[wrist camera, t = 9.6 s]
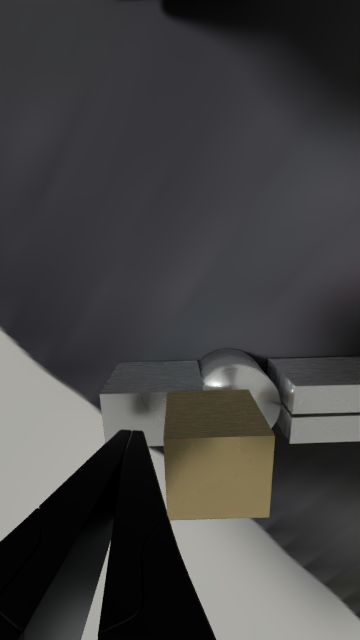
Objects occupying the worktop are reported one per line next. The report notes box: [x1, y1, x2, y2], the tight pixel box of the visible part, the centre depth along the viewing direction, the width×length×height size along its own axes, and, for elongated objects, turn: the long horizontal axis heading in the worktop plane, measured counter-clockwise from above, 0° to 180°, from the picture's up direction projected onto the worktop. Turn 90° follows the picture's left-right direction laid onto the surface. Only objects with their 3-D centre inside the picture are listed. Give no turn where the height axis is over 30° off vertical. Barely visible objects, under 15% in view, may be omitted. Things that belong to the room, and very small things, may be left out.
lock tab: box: [163, 389, 275, 520], centre depth 8 cm, size 3×3×2 cm
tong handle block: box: [100, 348, 281, 446], centre depth 11 cm, size 7×4×3 cm, turn 92°
